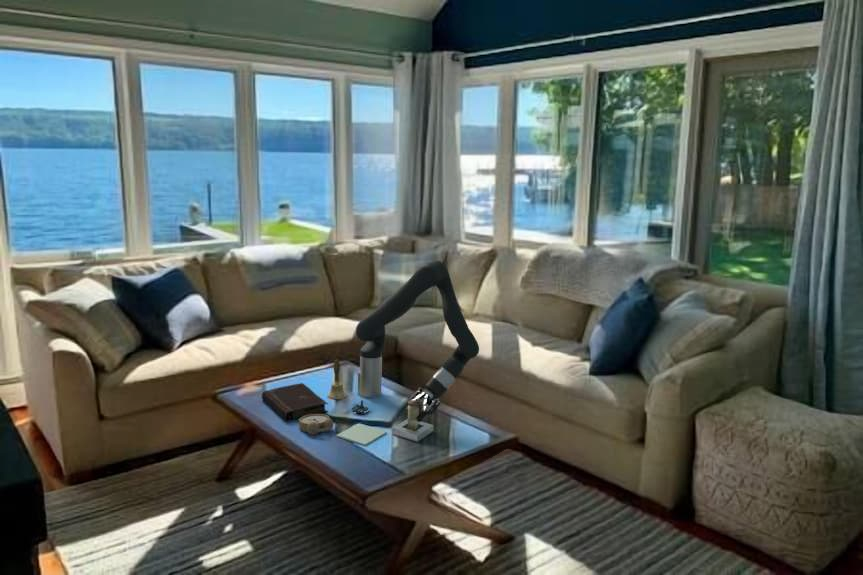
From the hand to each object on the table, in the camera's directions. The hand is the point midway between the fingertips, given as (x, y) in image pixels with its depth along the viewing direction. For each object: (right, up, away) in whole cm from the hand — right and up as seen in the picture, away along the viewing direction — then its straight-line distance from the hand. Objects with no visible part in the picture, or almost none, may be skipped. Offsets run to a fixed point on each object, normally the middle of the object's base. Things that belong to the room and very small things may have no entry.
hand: (412, 416), depth 237 cm
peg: (0, -6, +2) cm, 7 cm away
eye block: (0, -6, +2) cm, 6 cm away
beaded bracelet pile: (-21, -3, +19) cm, 29 cm away
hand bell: (-33, +1, +35) cm, 48 cm away
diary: (-48, -1, +22) cm, 53 cm away
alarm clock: (-35, -5, +2) cm, 36 cm away
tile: (-18, -6, -2) cm, 19 cm away
